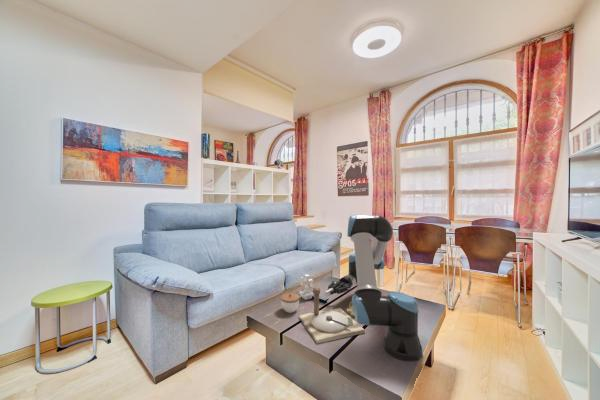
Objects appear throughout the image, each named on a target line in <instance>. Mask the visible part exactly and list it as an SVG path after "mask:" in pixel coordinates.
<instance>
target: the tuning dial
mask: <svg viewBox="0 0 600 400" xmlns="http://www.w3.org/2000/svg"><path fill="white" fill-rule="evenodd" d="M312 292H313V294H314V295H313V309H314V310H313V313H314V314H313V315H312V316H311V324H312V326H313V327H315V328H316V329H318V330H321V331H324V332H338V331H342V330H344V329H345V328H346V327H349V326H348V319H347V317H346V316H345V315H343V314H342V313H339V312H336V311H330V309H326V310H320V294H321V288H319V287H312Z"/></svg>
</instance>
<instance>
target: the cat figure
mask: <svg viewBox="0 0 600 400" xmlns="http://www.w3.org/2000/svg"><path fill="white" fill-rule="evenodd" d="M349 308H350V309H349ZM345 313H347V314H348V315H349V316H350V317H351V318H352V319H353V318H355V316H354V312H353V306H352V301H350V302H349V304H348V308H347V309H346V312H345Z"/></svg>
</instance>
